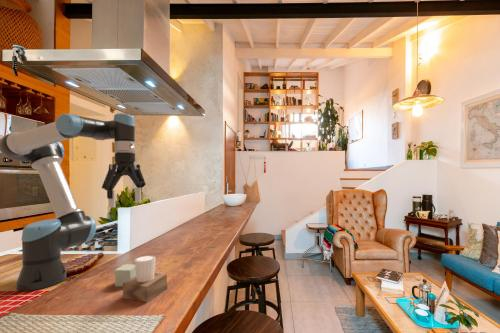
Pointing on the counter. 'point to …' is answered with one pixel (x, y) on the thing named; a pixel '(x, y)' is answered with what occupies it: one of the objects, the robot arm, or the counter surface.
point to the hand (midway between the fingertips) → (125, 204)
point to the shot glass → (145, 268)
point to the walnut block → (144, 288)
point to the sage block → (124, 274)
